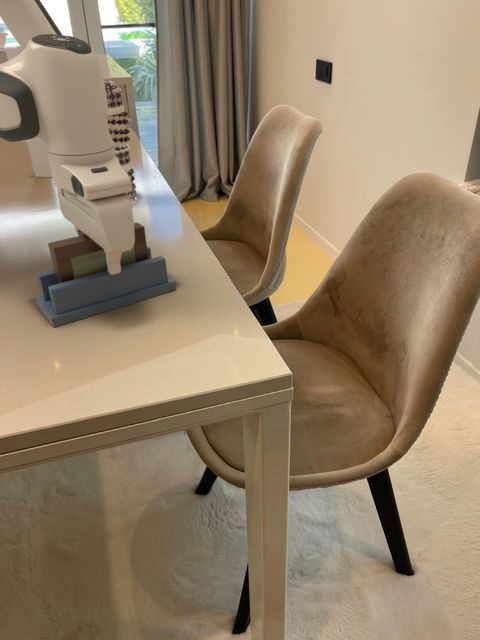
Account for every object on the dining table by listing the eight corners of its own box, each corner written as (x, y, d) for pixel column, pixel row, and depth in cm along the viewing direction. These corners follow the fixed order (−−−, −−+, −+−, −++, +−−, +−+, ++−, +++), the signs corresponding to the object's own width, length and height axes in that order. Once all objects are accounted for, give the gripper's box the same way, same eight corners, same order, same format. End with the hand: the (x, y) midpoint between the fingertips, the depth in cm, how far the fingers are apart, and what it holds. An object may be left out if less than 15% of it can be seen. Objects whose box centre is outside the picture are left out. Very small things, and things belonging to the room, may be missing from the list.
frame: (151, 280, 90) (144, 226, 85) (66, 304, 83) (53, 248, 78) (144, 274, 92) (137, 222, 87) (60, 298, 85) (47, 243, 80)
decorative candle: (130, 209, 124) (112, 85, 110) (91, 206, 126) (69, 85, 112) (145, 196, 132) (130, 79, 118) (108, 194, 133) (90, 78, 120)
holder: (176, 289, 90) (173, 258, 87) (53, 327, 81) (45, 293, 78) (154, 273, 96) (150, 242, 93) (36, 306, 86) (28, 274, 83)
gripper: (38, 158, 83) (58, 245, 90) (89, 191, 69) (107, 291, 76) (79, 151, 86) (95, 236, 94) (136, 181, 72) (149, 279, 80)
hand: (101, 261), depth 85 cm, fingers open, 8 cm apart
